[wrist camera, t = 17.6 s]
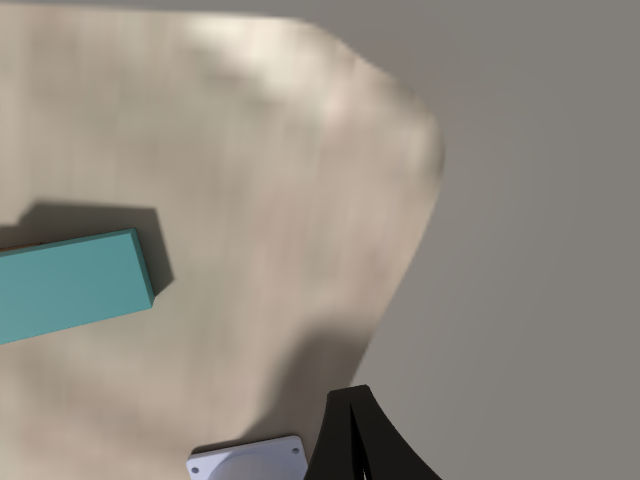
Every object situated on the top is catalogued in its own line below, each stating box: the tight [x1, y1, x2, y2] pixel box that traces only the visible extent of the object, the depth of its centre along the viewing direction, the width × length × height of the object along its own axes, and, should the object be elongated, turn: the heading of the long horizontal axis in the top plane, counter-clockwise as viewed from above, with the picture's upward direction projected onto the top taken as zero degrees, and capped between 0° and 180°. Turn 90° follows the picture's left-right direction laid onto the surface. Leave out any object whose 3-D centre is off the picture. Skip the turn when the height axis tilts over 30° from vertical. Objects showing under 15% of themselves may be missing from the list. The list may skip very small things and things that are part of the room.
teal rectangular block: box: [0, 228, 155, 345], centre depth 19 cm, size 2×4×8 cm
